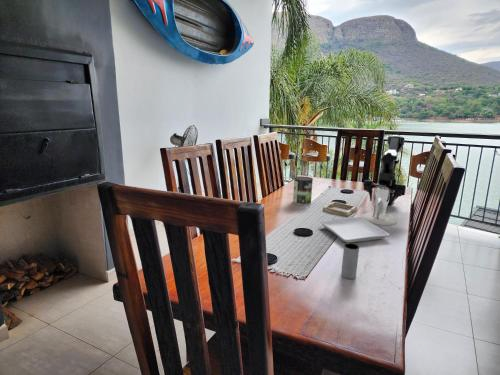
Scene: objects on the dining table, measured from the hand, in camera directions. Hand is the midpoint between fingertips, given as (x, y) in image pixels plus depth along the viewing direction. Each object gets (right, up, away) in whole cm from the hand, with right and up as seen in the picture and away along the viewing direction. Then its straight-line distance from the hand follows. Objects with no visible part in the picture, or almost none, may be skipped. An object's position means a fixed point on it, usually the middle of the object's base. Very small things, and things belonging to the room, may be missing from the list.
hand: (380, 202), depth 149 cm
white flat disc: (+1, -8, +3) cm, 9 cm away
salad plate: (-18, -13, -14) cm, 27 cm away
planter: (-31, -21, -48) cm, 61 cm away
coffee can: (-33, -2, +28) cm, 43 cm away
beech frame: (-15, -5, +15) cm, 22 cm away
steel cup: (0, -8, +4) cm, 9 cm away
